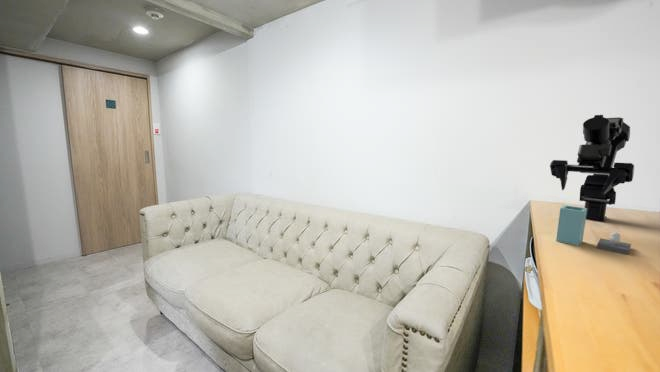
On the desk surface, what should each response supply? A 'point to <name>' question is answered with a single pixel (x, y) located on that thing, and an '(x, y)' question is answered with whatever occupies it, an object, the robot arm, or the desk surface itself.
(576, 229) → the teal sleeve
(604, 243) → the dark grey square plate
